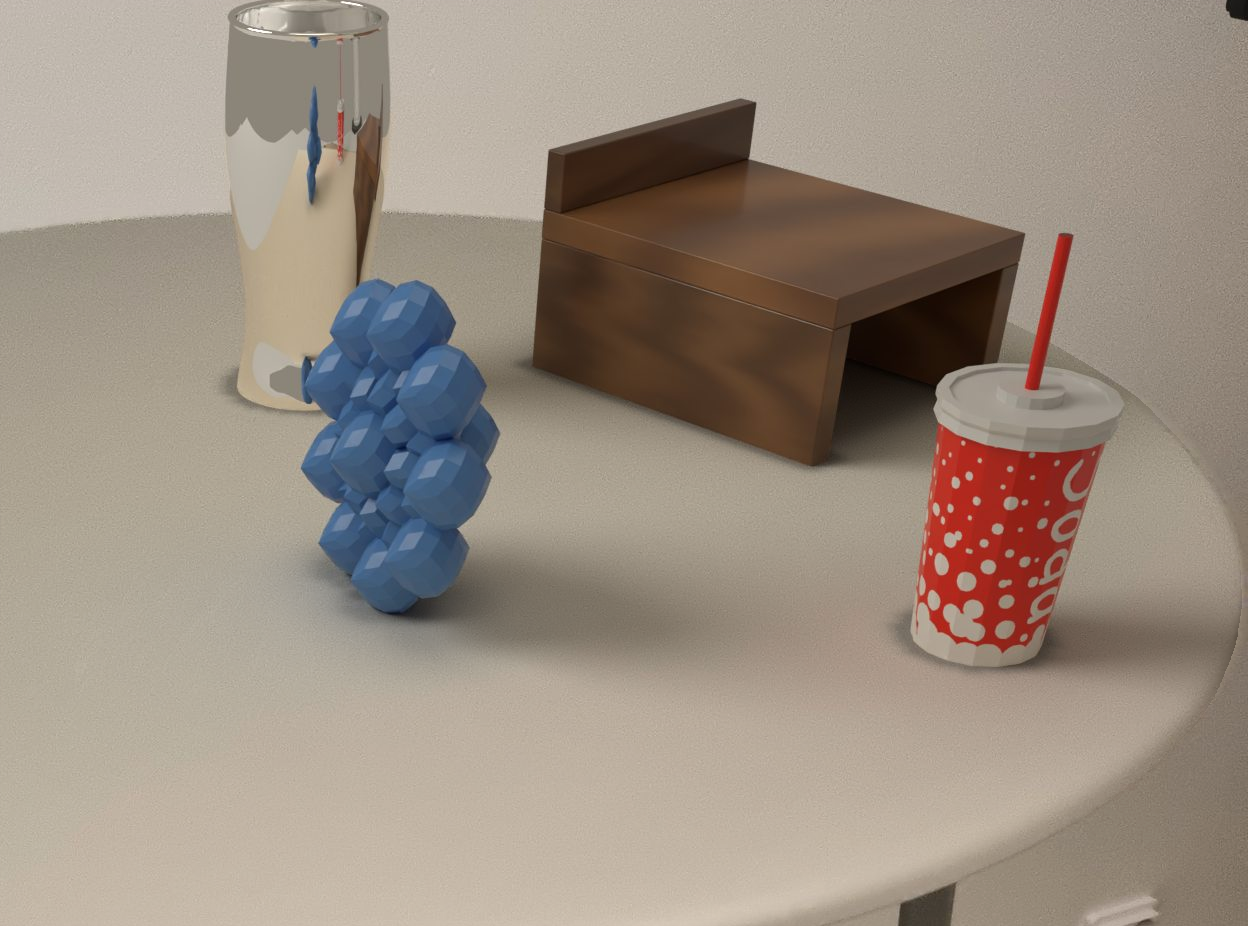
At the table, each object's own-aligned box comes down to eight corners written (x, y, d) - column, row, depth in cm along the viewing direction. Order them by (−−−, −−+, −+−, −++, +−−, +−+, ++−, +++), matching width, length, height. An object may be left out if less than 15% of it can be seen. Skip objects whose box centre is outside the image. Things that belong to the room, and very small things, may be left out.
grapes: (564, 655, 78) (597, 307, 71) (395, 688, 76) (409, 334, 68) (423, 533, 86) (438, 208, 78) (266, 560, 84) (265, 230, 76)
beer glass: (245, 360, 101) (243, -9, 91) (393, 371, 100) (407, 0, 90) (211, 413, 96) (204, 29, 86) (367, 426, 95) (378, 39, 85)
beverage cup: (967, 698, 76) (1063, 276, 67) (853, 630, 80) (928, 223, 71) (1097, 660, 78) (1207, 246, 69) (979, 596, 82) (1068, 196, 73)
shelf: (990, 399, 98) (1039, 171, 91) (810, 473, 91) (849, 234, 85) (713, 310, 107) (740, 97, 100) (530, 372, 100) (547, 149, 94)
